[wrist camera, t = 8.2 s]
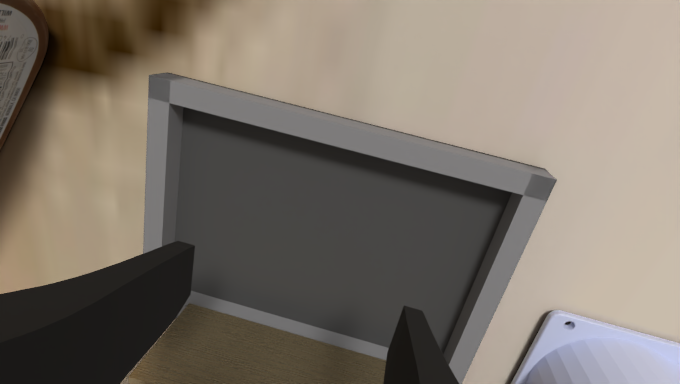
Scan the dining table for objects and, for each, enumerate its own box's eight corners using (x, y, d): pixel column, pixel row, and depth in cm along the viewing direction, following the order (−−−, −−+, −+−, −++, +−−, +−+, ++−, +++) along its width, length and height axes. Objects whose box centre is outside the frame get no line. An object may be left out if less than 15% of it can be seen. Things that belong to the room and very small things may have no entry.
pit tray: (544, 169, 18) (556, 179, 16) (451, 377, 23) (453, 399, 21) (167, 72, 19) (149, 74, 17) (156, 292, 24) (141, 307, 22)
